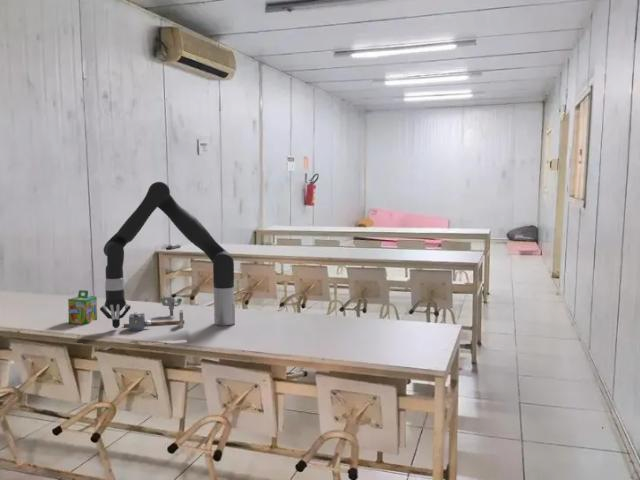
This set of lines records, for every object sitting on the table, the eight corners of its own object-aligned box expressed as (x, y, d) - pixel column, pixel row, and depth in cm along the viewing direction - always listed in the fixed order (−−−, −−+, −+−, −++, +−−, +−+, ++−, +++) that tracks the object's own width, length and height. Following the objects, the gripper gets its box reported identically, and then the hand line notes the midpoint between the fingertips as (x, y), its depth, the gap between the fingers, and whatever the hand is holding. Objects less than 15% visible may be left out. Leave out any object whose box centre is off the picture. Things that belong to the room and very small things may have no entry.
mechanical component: (180, 319, 252) (179, 298, 251) (160, 318, 254) (159, 297, 253) (182, 317, 255) (182, 297, 254) (163, 316, 257) (162, 296, 256)
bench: (184, 325, 240) (184, 308, 240) (184, 331, 231) (184, 313, 230) (124, 329, 234) (123, 311, 233) (121, 335, 224) (120, 317, 224)
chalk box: (68, 323, 244) (66, 292, 242) (80, 319, 253) (79, 288, 251) (86, 324, 242) (84, 293, 241) (98, 319, 251) (96, 289, 250)
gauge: (152, 326, 235) (151, 310, 234) (150, 331, 227) (150, 315, 226) (130, 327, 233) (130, 311, 232) (128, 332, 225) (128, 316, 224)
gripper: (132, 286, 232) (133, 324, 234) (99, 287, 229) (101, 326, 230) (130, 289, 225) (131, 329, 226) (97, 290, 221) (98, 330, 223)
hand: (116, 327), depth 228 cm, fingers closed
